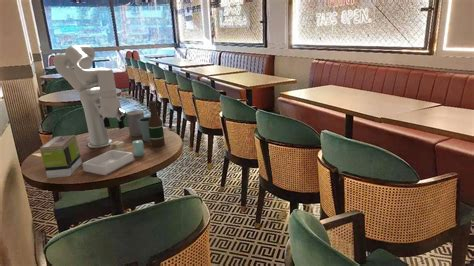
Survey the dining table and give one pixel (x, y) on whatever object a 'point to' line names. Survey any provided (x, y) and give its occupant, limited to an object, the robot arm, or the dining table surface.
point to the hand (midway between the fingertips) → (114, 127)
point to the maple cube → (117, 146)
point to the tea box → (61, 156)
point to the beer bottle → (155, 127)
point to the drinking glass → (144, 128)
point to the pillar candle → (134, 122)
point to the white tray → (108, 162)
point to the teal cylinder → (138, 148)
